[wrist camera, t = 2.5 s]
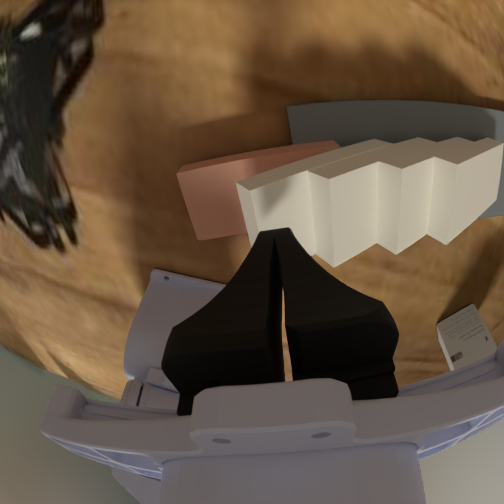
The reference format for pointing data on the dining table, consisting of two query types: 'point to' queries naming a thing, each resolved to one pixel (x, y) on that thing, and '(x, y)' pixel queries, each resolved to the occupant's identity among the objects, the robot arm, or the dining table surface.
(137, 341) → the robot arm
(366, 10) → the dining table surface
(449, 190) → the domino
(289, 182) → the domino
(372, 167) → the domino
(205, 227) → the end domino
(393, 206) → the domino
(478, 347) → the skincare box
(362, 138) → the domino board
